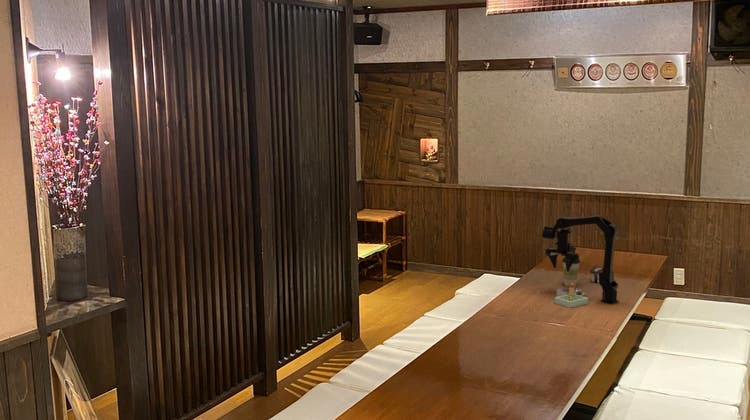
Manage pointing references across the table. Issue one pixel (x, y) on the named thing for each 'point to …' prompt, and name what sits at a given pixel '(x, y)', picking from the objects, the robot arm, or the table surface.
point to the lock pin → (571, 291)
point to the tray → (576, 302)
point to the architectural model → (596, 273)
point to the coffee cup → (570, 272)
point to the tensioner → (566, 291)
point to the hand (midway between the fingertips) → (561, 269)
